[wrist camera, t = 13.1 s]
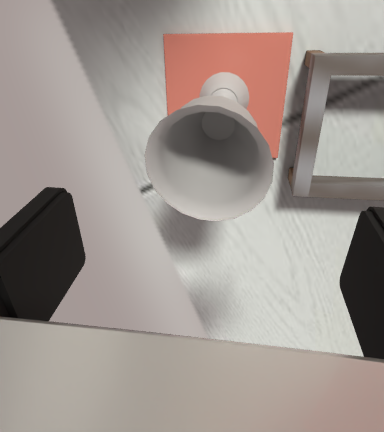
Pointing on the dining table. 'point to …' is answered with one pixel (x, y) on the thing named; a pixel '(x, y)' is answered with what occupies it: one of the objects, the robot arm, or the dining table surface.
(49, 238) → the robot arm
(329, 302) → the dining table surface
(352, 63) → the ring stand
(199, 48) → the coaster
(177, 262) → the dining table surface
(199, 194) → the chalice
